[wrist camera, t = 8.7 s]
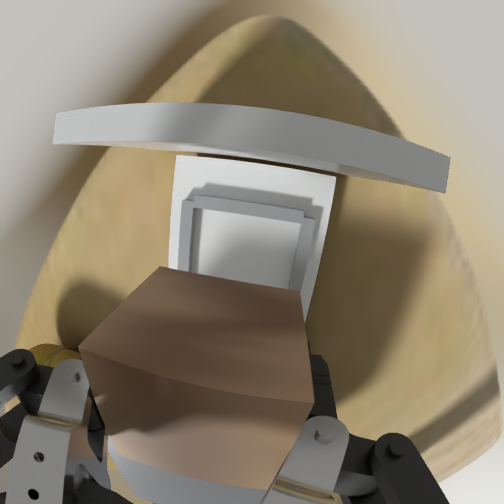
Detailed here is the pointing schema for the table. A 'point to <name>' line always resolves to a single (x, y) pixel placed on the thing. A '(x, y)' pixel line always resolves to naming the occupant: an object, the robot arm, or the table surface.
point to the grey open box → (178, 485)
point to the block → (203, 376)
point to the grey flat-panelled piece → (253, 181)
